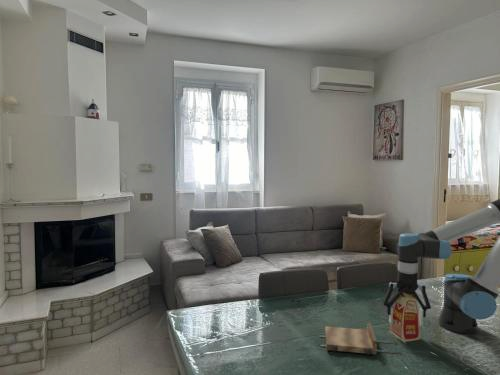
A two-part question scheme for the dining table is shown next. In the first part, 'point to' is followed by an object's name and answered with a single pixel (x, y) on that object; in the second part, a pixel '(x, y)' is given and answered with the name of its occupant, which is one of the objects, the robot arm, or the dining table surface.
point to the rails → (377, 350)
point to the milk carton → (406, 318)
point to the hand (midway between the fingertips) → (405, 323)
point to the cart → (351, 339)
